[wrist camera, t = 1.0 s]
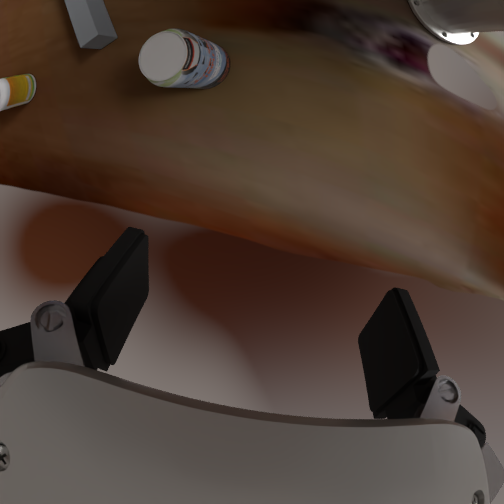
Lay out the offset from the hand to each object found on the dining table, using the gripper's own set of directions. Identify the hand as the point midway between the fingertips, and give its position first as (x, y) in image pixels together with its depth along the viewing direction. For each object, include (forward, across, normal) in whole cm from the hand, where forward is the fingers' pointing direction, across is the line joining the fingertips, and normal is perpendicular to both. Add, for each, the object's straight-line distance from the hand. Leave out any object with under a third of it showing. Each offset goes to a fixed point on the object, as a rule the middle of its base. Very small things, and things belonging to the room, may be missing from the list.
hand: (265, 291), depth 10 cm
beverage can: (+29, +11, -8) cm, 32 cm away
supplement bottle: (+28, +42, -4) cm, 51 cm away
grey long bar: (+28, +32, -21) cm, 47 cm away
